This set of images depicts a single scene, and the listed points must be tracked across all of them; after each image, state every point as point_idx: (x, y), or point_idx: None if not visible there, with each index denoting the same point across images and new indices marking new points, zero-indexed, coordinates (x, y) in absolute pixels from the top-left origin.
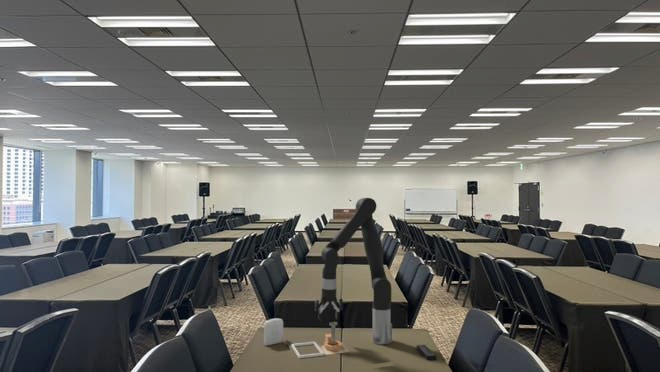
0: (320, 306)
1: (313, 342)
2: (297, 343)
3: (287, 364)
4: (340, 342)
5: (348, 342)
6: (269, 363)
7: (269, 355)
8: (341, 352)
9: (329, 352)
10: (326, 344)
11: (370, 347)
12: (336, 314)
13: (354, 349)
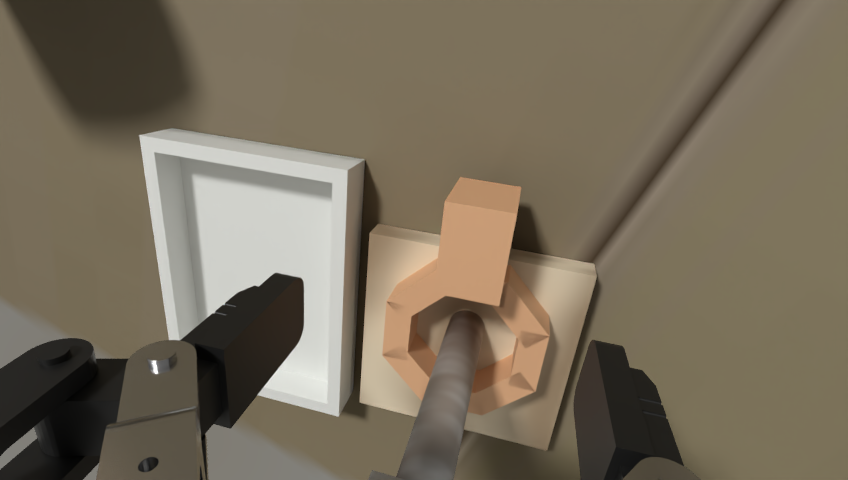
0: (108, 433)
1: (329, 182)
2: (189, 145)
3: (136, 350)
4: (537, 357)
5: (730, 202)
6: (44, 291)
7: (31, 175)
8: (479, 428)
9: (397, 385)
10: (396, 335)
11: (825, 404)
12: (585, 460)
13: (653, 370)
